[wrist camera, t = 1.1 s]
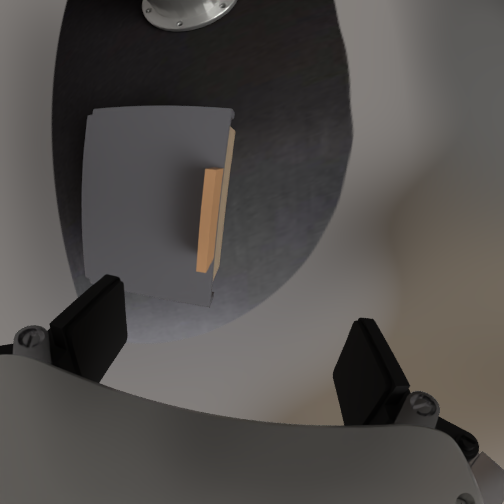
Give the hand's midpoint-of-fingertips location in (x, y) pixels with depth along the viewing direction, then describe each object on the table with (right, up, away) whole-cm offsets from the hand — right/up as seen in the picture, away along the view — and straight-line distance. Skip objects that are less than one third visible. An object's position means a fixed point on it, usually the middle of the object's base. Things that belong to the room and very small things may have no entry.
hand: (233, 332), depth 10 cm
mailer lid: (-9, +8, +16) cm, 20 cm away
